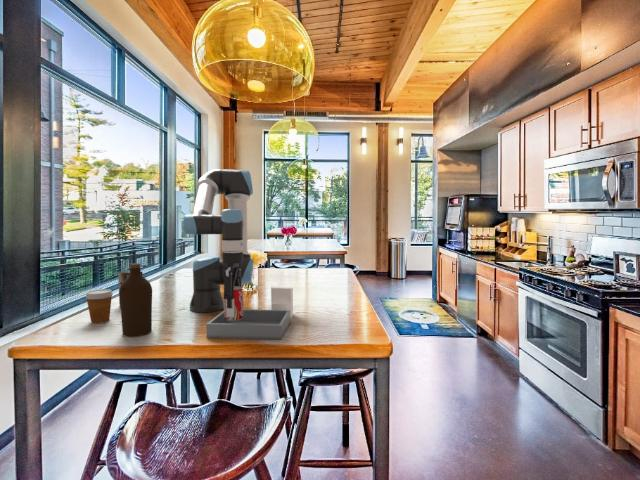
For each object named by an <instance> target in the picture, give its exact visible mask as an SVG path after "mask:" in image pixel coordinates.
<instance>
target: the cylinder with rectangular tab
mask: <svg viewBox="0 0 640 480" xmlns="http://www.w3.org/2000/svg"><path fill="white" fill-rule="evenodd" d="M293 288H294V287H293V286H271V288H270V289H271V290H270V295H271V296H270V298H271V299H270V304H271V309H270V310H290V319H291V318H292V317H294V289H293Z"/></svg>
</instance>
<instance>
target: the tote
mask: <svg viewBox="0 0 640 480" xmlns="http://www.w3.org/2000/svg"><path fill="white" fill-rule="evenodd" d="M290 324H291V318H290V310H271V309H244V314H243V318H242V319H241V320H240V321H235V322H230V321H227V320H226V319H225V318H224V310H223V311H221V312H220V313H219V314H217V315H216V316H215V317H213V318H212V319H211V320H210V321H208V322H207V323H206V324H205V325H206V330H205V331H206V339H219V338H236V339H235V340H261V339H263V341H264V340H268V341H269V340H270V341H282V339H283V338H284V336H285V334H286V332H287V331H288V328H289V326H290Z"/></svg>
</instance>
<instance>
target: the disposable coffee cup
mask: <svg viewBox="0 0 640 480" xmlns="http://www.w3.org/2000/svg"><path fill="white" fill-rule="evenodd" d="M112 291H113V290H111V289H107V288H105V289H103V288H102V289H95V290H89V291H87V292H86V293H85V295H84V296H85V299H86V302H87V307H88V313H89V318H90V323H91V322H92V323H91V324H102V323H101V322H104V323H107V322H109V321H110V320H111V318H110V317H111V307H112V297H113V295H114V293H113V292H112ZM108 320H109V321H108ZM106 321H107V322H106Z"/></svg>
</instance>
